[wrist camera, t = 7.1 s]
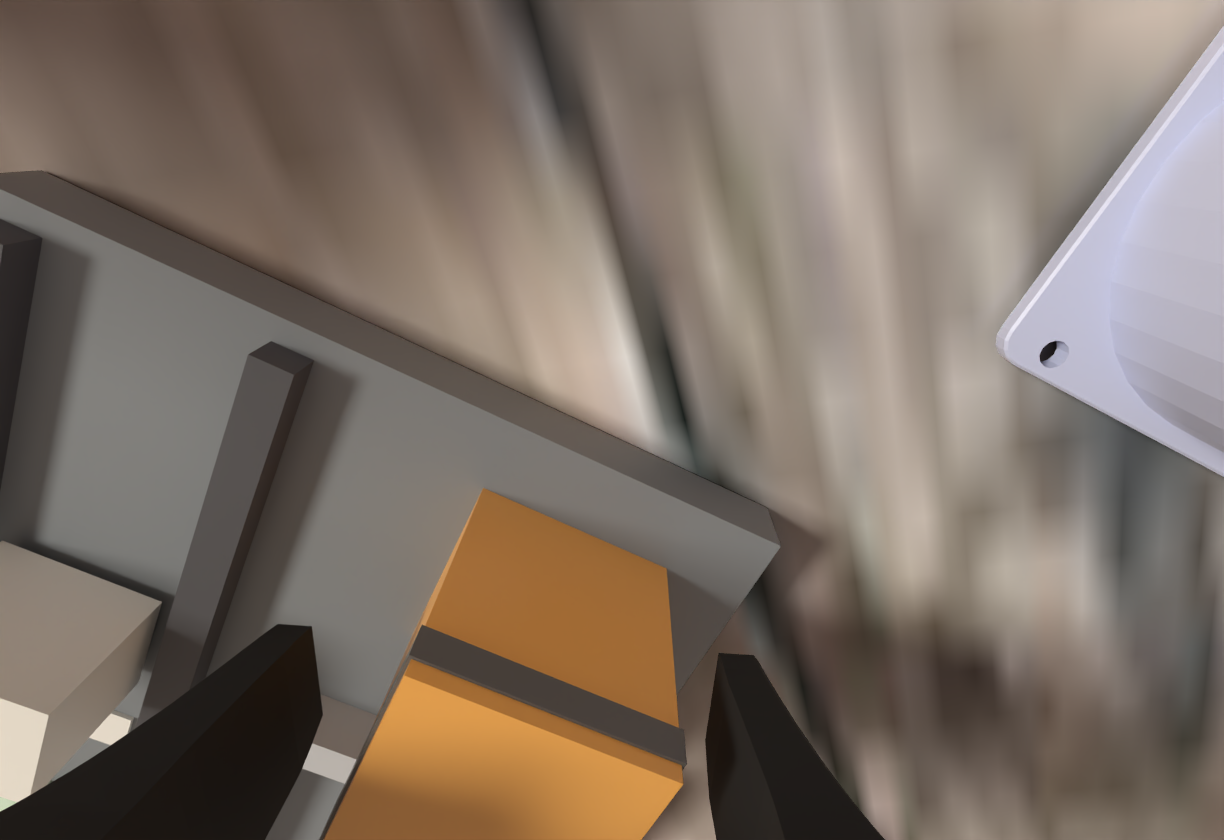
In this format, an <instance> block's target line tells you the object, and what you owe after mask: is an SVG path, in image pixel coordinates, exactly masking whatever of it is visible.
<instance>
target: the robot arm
mask: <svg viewBox="0 0 1224 840" xmlns="http://www.w3.org/2000/svg"><path fill="white" fill-rule="evenodd" d="M1053 341H1056V342H1057V349H1056V351H1055V353H1054V355H1052V356H1051V357H1050V358H1049V359H1048V360H1044V361H1041V362H1040V357H1039V355H1040V353H1041V351H1042V348H1043V347H1045V346H1046V345H1047V344H1048V343H1050V342H1053ZM996 347H997V350H998V352H999V354H1000V355H1001V356H1002V357H1003V358H1004V359H1005V360H1007V361H1008V362H1010V363H1012V364H1013V365H1015V366H1017V367H1019V368H1021V369H1023V370H1024V371H1026V372H1028V373H1030V374H1032V375H1034V376H1036V377H1038V378H1039V379H1041V380H1043V381H1045V382H1047V383H1049V384H1051V385H1053V386H1054V387H1056V388H1058V389H1060V390H1062V391H1064V392H1066V393H1068V394H1069V395H1071V396H1073V397H1075V398H1077V399H1079V400H1081V401H1083V402H1084V403H1086V404H1088V405H1090V406H1092V407H1094V408H1096V409H1098V410H1099V411H1101V412H1103V413H1105V414H1107V415H1109V416H1111V417H1113V418H1114V419H1116V420H1118V421H1120V422H1122V423H1124V424H1126V425H1128V426H1129V427H1131V428H1133V429H1135V430H1137V431H1139V432H1141V433H1143V434H1144V435H1146V436H1148V437H1150V438H1152V439H1154V440H1156V441H1158V442H1159V443H1161V444H1163V445H1165V446H1167V447H1169V448H1171V449H1173V450H1174V451H1176V452H1178V453H1180V454H1182V455H1184V456H1186V457H1188V458H1189V459H1191V460H1193V461H1195V462H1197V463H1199V464H1201V465H1203V466H1205V467H1206V468H1208V469H1210V470H1212V471H1214V472H1216V473H1218V474H1220V475H1221V476H1223V477H1224V26H1223V27H1222V29H1221V30H1220V31H1219V33H1218V34H1217V35H1216V37H1215V38H1214V39H1213V41H1212V42H1211V43H1210V45H1209V46H1208V47H1207V49H1206V50H1205V52H1204V53H1203V54H1202V56H1201V57H1200V58H1199V60H1198V61H1197V62H1196V64H1195V65H1194V66H1193V68H1192V69H1191V70H1190V72H1189V73H1188V75H1187V76H1186V77H1185V79H1184V80H1183V81H1182V83H1181V84H1180V85H1179V87H1178V88H1177V89H1176V91H1175V92H1174V93H1173V95H1172V96H1171V98H1170V99H1169V100H1168V102H1167V103H1166V104H1165V106H1164V107H1163V108H1162V110H1161V111H1160V112H1159V114H1158V115H1157V116H1156V118H1155V119H1154V121H1153V122H1152V123H1151V125H1150V126H1149V127H1148V129H1147V130H1146V131H1145V133H1144V134H1143V135H1142V137H1141V138H1140V139H1139V141H1138V142H1137V144H1136V145H1135V146H1134V148H1133V149H1132V150H1131V152H1130V153H1129V154H1128V156H1127V157H1126V158H1125V160H1124V161H1123V162H1122V164H1121V165H1120V167H1119V168H1118V169H1117V171H1116V172H1115V173H1114V175H1113V176H1112V177H1111V179H1110V180H1109V181H1108V183H1107V184H1106V185H1105V187H1104V188H1103V189H1102V191H1101V192H1100V194H1099V195H1098V196H1097V198H1096V199H1095V200H1094V202H1093V203H1092V204H1091V206H1090V207H1089V208H1088V210H1087V211H1086V212H1085V214H1084V215H1083V217H1082V218H1081V219H1080V221H1079V222H1078V223H1077V225H1076V226H1075V227H1074V229H1073V230H1072V231H1071V233H1070V234H1069V235H1068V237H1067V238H1066V240H1065V241H1064V242H1063V244H1062V245H1061V246H1060V248H1059V249H1058V250H1057V252H1056V253H1055V254H1054V256H1053V257H1052V258H1051V260H1050V261H1049V263H1048V264H1047V265H1046V267H1045V268H1044V269H1043V271H1042V272H1041V273H1040V275H1039V276H1038V277H1037V279H1036V280H1035V281H1034V283H1033V284H1032V286H1031V287H1030V288H1029V290H1028V291H1027V292H1026V294H1025V295H1024V296H1023V298H1022V299H1021V300H1020V302H1019V303H1018V304H1017V306H1016V307H1015V309H1014V310H1013V311H1012V313H1011V314H1010V315H1009V317H1008V318H1007V319H1006V321H1005V322H1004V323H1003V325H1002V326H1001V328H1000V330H999V332H998V334H997V338H996ZM322 716H323V710H322V702H321V694H320V686H319V679H318V671H317V663H316V655H315V647H314V639H313V631H312V626H301V625H286V624H277V625H275V626H274V627H273V628H271V629H270V630H268V631H267V632H266V633H264V634H263V635H262V636H260V637H259V638H258V639H256V640H255V641H254V642H252V643H251V644H250V645H248V646H247V647H246V648H245V649H243V650H242V651H241V652H239V653H238V654H237V655H235V656H234V657H233V658H231V659H230V660H229V661H228V662H226V663H225V664H224V665H222V666H221V667H220V668H218V669H217V670H216V671H214V672H213V673H212V674H210V675H209V676H208V677H206V678H205V679H204V680H202V681H201V682H200V683H198V684H197V685H196V686H194V687H193V688H192V689H190V690H189V691H187V692H186V693H185V694H183V695H182V696H181V697H179V698H178V699H177V700H175V701H174V702H173V703H171V704H170V705H169V706H167V707H166V708H164V709H163V710H161V711H160V712H158V713H157V714H155V715H154V716H153V717H151V718H150V719H148V720H147V721H145V722H144V723H142V724H141V725H139V726H138V727H137V728H135V729H134V730H132V731H131V732H129V733H128V734H126V735H125V736H123V737H122V738H121V739H119V740H118V741H116V742H115V743H113V744H112V745H110V746H109V747H107V748H106V749H104V750H103V751H101V752H100V753H98V754H97V755H95V756H94V757H92V758H91V759H89V760H87V761H86V762H84V763H83V764H81V765H79V766H78V767H76V768H75V769H73V770H71V771H70V772H68V773H66V774H65V775H63V776H61V777H60V778H58V779H56V780H55V781H53V782H51V783H50V784H48V785H46V786H45V787H43V788H41V789H39V790H38V791H36V792H34V793H33V794H31V795H29V796H28V797H26V798H24V799H22V800H21V801H19V802H17V803H15V804H13V805H12V806H10V807H8V808H6V809H4V810H2V811H0V840H265V839H266V837H267V835H268V833H269V831H270V830H271V828H272V826H273V824H274V822H275V820H276V818H277V817H278V815H279V813H280V811H281V809H282V807H283V805H284V803H285V801H286V799H287V798H288V796H289V794H290V792H291V790H292V788H293V786H294V784H295V782H296V780H297V778H298V776H299V775H300V773H301V770H302V768H303V765H304V763H305V760H306V758H307V755H308V753H309V751H310V748H311V746H312V743H313V740H314V738H315V735H316V732H317V730H318V727H319V724H320V722H321V719H322ZM705 742H706V757H707V773H708V786H709V799H710V805H711V811H712V817H713V822H714V828H715V834H716V839H717V840H885V839H884V838H883V837H882V836H881V835H880V834H879V832H878V831H877V830H876V829H875V828H874V827H873V825H872V824H871V823H870V822H869V821H868V819H867V818H866V817H865V816H864V815H863V813H862V812H861V811H860V810H859V808H858V807H857V806H856V805H855V804H854V802H853V801H852V800H851V798H850V797H849V796H848V795H847V793H846V792H845V791H844V789H843V788H842V787H841V785H840V784H839V783H838V782H837V780H836V779H835V778H834V776H833V775H832V774H831V772H830V771H829V770H828V768H827V767H826V765H825V764H824V763H823V761H822V760H821V759H820V757H819V756H818V754H817V753H816V751H815V750H814V748H813V747H812V746H811V744H810V743H809V741H808V740H807V738H806V737H805V736H804V734H803V733H802V731H801V730H800V728H799V727H798V725H797V724H796V722H795V721H794V719H793V718H792V716H791V715H790V713H789V711H788V710H787V708H786V707H785V705H784V704H783V702H782V700H781V699H780V697H779V696H778V694H777V692H776V691H775V689H774V687H773V686H772V684H771V682H770V681H769V679H768V677H767V676H766V674H765V672H764V670H763V669H762V667H761V665H760V663H759V662H758V660H757V659H756V658H755V657H754V656H753V655H739V654H724V653H719V655H718V661H717V668H716V674H715V681H714V687H713V694H712V700H711V707H710V713H709V720H708V726H707V733H706V739H705Z"/></svg>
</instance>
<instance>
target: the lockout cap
mask: <svg viewBox="0 0 1224 840" xmlns="http://www.w3.org/2000/svg"><path fill="white" fill-rule="evenodd" d="M686 765H687V761H686V750H685V738H684V730H683V729H680V728H679V722H678V709H677V696H676V683H675V670H674V657H673V644H672V631H671V619H670V606H669V593H668V580H667V568H664V567H662V566H660V565H657V564H655V563H653V562H651V561H648V560H646V559H644V558H642V557H639V556H637V555H635V554H632V553H630V552H628V551H626V550H623V549H621V548H619V547H617V546H614V545H612V544H610V543H607V542H605V541H603V540H601V539H598V538H596V537H594V536H591V535H589V534H587V533H585V532H582V531H580V530H578V529H576V528H573V527H571V526H569V525H566V524H564V523H562V522H560V521H557V520H555V519H553V518H551V517H548V516H546V515H544V514H541V513H539V512H537V511H535V510H532V509H530V508H528V507H526V506H523V505H521V504H519V503H516V502H514V501H512V500H510V499H507V498H505V497H503V496H500V495H498V494H496V493H494V492H491V491H489V490H487V489H485V488H483V489H482V491H481V493H480V495H479V498H478V500H477V502H476V504H475V506H474V508H473V510H472V512H471V514H470V516H469V518H468V520H467V522H466V525H465V527H464V529H463V531H462V533H461V535H460V537H459V539H458V541H457V543H456V545H455V547H454V550H453V552H452V554H451V556H450V558H449V560H448V562H447V564H446V566H445V568H444V570H443V572H442V575H441V577H440V579H439V581H438V583H437V585H436V587H435V589H434V591H433V593H432V595H431V597H430V599H429V602H428V604H427V606H426V608H425V610H424V612H423V614H422V616H421V618H420V620H419V622H418V624H417V627H416V629H415V631H414V633H413V635H412V637H411V639H410V642H409V644H408V646H407V649H406V651H405V653H404V655H403V658H402V660H401V662H400V664H399V667H398V669H397V671H396V674H395V676H394V678H393V680H392V683H391V685H390V687H389V690H388V692H387V694H386V696H385V699H384V701H383V703H382V706H381V708H380V710H379V712H378V715H377V717H376V719H375V722H374V724H373V726H372V728H371V731H370V733H369V735H368V737H367V739H366V741H365V743H364V745H363V747H362V749H361V752H360V754H359V756H358V758H357V760H356V762H355V764H354V766H353V768H352V770H351V772H350V774H349V776H348V778H347V780H346V783H345V785H344V787H343V789H342V791H341V793H340V795H339V797H338V799H337V801H336V803H335V805H334V807H333V809H332V812H331V814H330V816H329V818H328V821H327V823H326V825H325V827H324V830H323V832H322V834H321V836H320V839H319V840H641V839H642V838H643V837H644V836H645V834H646V833H647V832H648V830H649V829H650V828H651V826H652V825H653V824H654V822H655V821H656V820H657V818H658V817H659V816H660V814H661V813H662V812H663V810H664V809H665V808H666V806H667V805H668V804H669V802H670V801H671V800H672V798H673V797H674V796H675V794H676V793H677V792H678V791H679V789H680V788H681V787H682V785H683V774H682V770H683V769H684V767H685V766H686Z"/></svg>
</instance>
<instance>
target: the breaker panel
mask: <svg viewBox="0 0 1224 840" xmlns="http://www.w3.org/2000/svg"><path fill="white" fill-rule="evenodd" d="M483 488H485V489H487V490H489V491H491V492H494V493H496V494H498V495H500V496H503V497H505V498H507V499H510V500H512V501H514V502H516V503H519V504H521V505H523V506H526V507H528V508H530V509H532V510H535V511H537V512H539V513H541V514H544V515H546V516H548V517H551V518H553V519H555V520H557V521H560V522H562V523H564V524H566V525H569V526H571V527H573V528H576V529H578V530H580V531H582V532H585V533H587V534H589V535H591V536H594V537H596V538H598V539H601V540H603V541H605V542H607V543H610V544H612V545H614V546H617V547H619V548H621V549H623V550H626V551H628V552H630V553H632V554H635V555H637V556H639V557H642V558H644V559H646V560H648V561H651V562H653V563H655V564H657V565H660V566H662V567H664V568H667V580H668V593H669V606H670V619H671V631H672V644H673V657H674V670H675V683H676V695H677V694H678V693H679V691H680V690H681V688H682V687H683V685H684V684H685V683H686V681H687V680H688V678H689V677H690V675H691V674H692V673H693V671H694V670H695V668H696V667H697V665H698V664H699V663H700V661H701V660H702V658H703V657H704V655H705V654H706V653H707V651H708V650H709V648H710V647H711V645H712V644H713V643H714V641H715V640H716V638H717V637H718V635H719V634H720V633H721V631H722V630H723V628H724V627H725V625H726V624H727V623H728V621H729V620H730V618H731V617H732V615H733V614H734V613H735V611H736V610H737V608H738V607H739V605H740V604H741V603H742V601H743V600H744V598H745V597H746V595H747V594H748V593H749V591H750V590H751V588H752V587H753V585H754V584H755V583H756V581H757V580H758V578H759V577H760V575H761V574H762V573H763V571H764V570H765V568H766V567H767V565H768V564H769V563H770V561H771V560H772V558H773V557H774V555H775V554H776V553H777V551H778V550H779V548H780V547H781V545H780V542H779V539H778V536H777V534H776V531H775V528H774V525H773V522H772V520H771V517H770V514H769V511H768V508H766V507H764V506H762V505H760V504H757V503H755V502H753V501H751V500H749V499H747V498H745V497H742V496H740V495H738V494H736V493H734V492H732V491H730V490H727V489H725V488H723V487H721V486H719V485H717V484H714V483H712V482H710V481H708V480H706V479H704V478H702V477H699V476H697V475H695V474H693V473H691V472H689V471H687V470H684V469H682V468H680V467H678V466H676V465H674V464H671V463H669V462H667V461H665V460H663V459H661V458H659V457H656V456H654V455H652V454H650V453H648V452H646V451H644V450H641V449H639V448H637V447H635V446H633V445H631V444H629V443H626V442H624V441H622V440H620V439H618V438H616V437H613V436H611V435H609V434H607V433H605V432H603V431H601V430H598V429H596V428H594V427H592V426H590V425H588V424H586V423H583V422H581V421H579V420H577V419H575V418H573V417H570V416H568V415H566V414H564V413H562V412H560V411H558V410H555V409H553V408H551V407H549V406H547V405H545V404H543V403H540V402H538V401H536V400H534V399H532V398H530V397H528V396H525V395H523V394H521V393H519V392H517V391H515V390H512V389H510V388H508V387H506V386H504V385H502V384H500V383H497V382H495V381H493V380H491V379H489V378H487V377H485V376H482V375H480V374H478V373H476V372H474V371H472V370H469V369H467V368H465V367H463V366H461V365H459V364H457V363H454V362H452V361H450V360H448V359H446V358H444V357H442V356H439V355H437V354H435V353H433V352H431V351H429V350H426V349H424V348H422V347H420V346H418V345H416V344H414V343H411V342H409V341H407V340H405V339H403V338H401V337H399V336H396V335H394V334H392V333H390V332H388V331H386V330H384V329H381V328H379V327H377V326H375V325H373V324H371V323H368V322H366V321H364V320H362V319H360V318H358V317H356V316H353V315H351V314H349V313H347V312H345V311H343V310H341V309H338V308H336V307H334V306H332V305H330V304H328V303H325V302H323V301H321V300H319V299H317V298H315V297H313V296H310V295H308V294H306V293H304V292H302V291H300V290H298V289H295V288H293V287H291V286H289V285H287V284H285V283H283V282H280V281H278V280H276V279H274V278H272V277H270V276H267V275H265V274H263V273H261V272H259V271H257V270H255V269H252V268H250V267H248V266H246V265H244V264H242V263H240V262H237V261H235V260H233V259H231V258H229V257H227V256H224V255H222V254H220V253H218V252H216V251H214V250H212V249H209V248H207V247H205V246H203V245H201V244H199V243H197V242H194V241H192V240H190V239H188V238H186V237H184V236H182V235H179V234H177V233H175V232H173V231H171V230H169V229H166V228H164V227H162V226H160V225H158V224H156V223H154V222H151V221H149V220H147V219H145V218H143V217H141V216H139V215H136V214H134V213H132V212H130V211H128V210H126V209H123V208H121V207H119V206H117V205H115V204H113V203H111V202H108V201H106V200H104V199H102V198H100V197H98V196H96V195H93V194H91V193H89V192H87V191H85V190H83V189H81V188H78V187H76V186H74V185H72V184H70V183H68V182H65V181H63V180H61V179H59V178H57V177H55V176H53V175H50V174H48V173H46V172H44V171H42V170H41V171H25V172H10V173H0V542H1V541H5V542H8V543H10V544H13V545H15V546H18V547H21V548H23V549H26V550H28V551H31V552H34V553H36V554H39V555H41V556H44V557H47V558H49V559H52V560H54V561H57V562H60V563H62V564H65V565H67V566H70V567H73V568H75V569H78V570H80V571H83V572H86V573H88V574H91V575H93V576H96V577H99V578H101V579H104V580H106V581H109V582H112V583H114V584H117V585H119V586H122V587H125V588H127V589H130V590H132V591H135V592H138V593H140V594H143V595H145V596H148V597H151V598H153V599H156V600H158V601H161V602H162V604H161V608H160V611H159V614H158V618H157V621H156V625H155V628H154V631H153V635H152V638H151V642H150V645H149V648H148V652H147V655H146V659H145V662H144V665H143V669H142V672H141V676H140V679H139V682H138V684H137V685H136V686H135V687H134V688H133V689H132V690H131V691H130V692H129V694H128V695H127V696H126V697H125V698H124V699H123V700H122V701H121V702H120V704H119V705H118V706H117V707H116V708H115V709H114V710H113V711H112V712H111V714H110V715H109V716H108V717H107V718H106V719H105V720H104V721H103V723H102V724H101V725H100V726H99V727H98V728H97V729H96V730H95V731H94V733H93V734H92V735H91V736H90V737H89V738H88V739H87V740H86V741H85V743H84V744H83V745H82V746H81V747H80V748H79V749H78V750H77V751H76V753H75V754H74V755H73V756H72V757H71V758H70V759H69V760H68V762H67V763H66V764H65V765H64V766H63V767H62V768H61V769H60V770H59V772H58V773H57V774H56V775H55V776H54V777H53V778H52V779H51V780H50V782H49V783H48V784H50V783H51V782H53V781H55V780H56V779H58V778H60V777H61V776H63V775H65V774H66V773H68V772H70V771H71V770H73V769H75V768H76V767H78V766H79V765H81V764H83V763H84V762H86V761H87V760H89V759H91V758H92V757H94V756H95V755H97V754H98V753H100V752H101V751H103V750H104V749H106V748H107V747H109V746H110V745H112V744H113V743H115V742H116V741H118V740H119V739H121V738H122V737H123V736H125V735H126V734H128V733H129V732H131V731H132V730H134V729H135V728H137V727H138V726H139V725H141V724H142V723H144V722H145V721H147V720H148V719H150V718H151V717H153V716H154V715H155V714H157V713H158V712H160V711H161V710H163V709H164V708H166V707H167V706H169V705H170V704H171V703H173V702H174V701H175V700H177V699H178V698H179V697H181V696H182V695H183V694H185V693H186V692H187V691H189V690H190V689H192V688H193V687H194V686H196V685H197V684H198V683H200V682H201V681H202V680H204V679H205V678H206V677H208V676H209V675H210V674H212V673H213V672H214V671H216V670H217V669H218V668H220V667H221V666H222V665H224V664H225V663H226V662H228V661H229V660H230V659H231V658H233V657H234V656H235V655H237V654H238V653H239V652H241V651H242V650H243V649H245V648H246V647H247V646H248V645H250V644H251V643H252V642H254V641H255V640H256V639H258V638H259V637H260V636H262V635H263V634H264V633H266V632H267V631H268V630H270V629H271V628H273V627H274V626H275V625H277V624H286V625H301V626H312V631H313V639H314V647H315V655H316V663H317V671H318V679H319V686H320V694H321V702H322V710H323V716H322V719H321V722H320V724H319V727H318V730H317V732H316V735H315V738H314V740H313V743H312V746H311V748H310V751H309V753H308V755H307V758H306V760H305V763H304V765H303V768H302V770H301V773H300V775H299V776H298V778H297V780H296V782H295V784H294V786H293V788H292V790H291V792H290V794H289V796H288V798H287V799H286V801H285V803H284V805H283V807H282V809H281V811H280V813H279V815H278V817H277V818H276V820H275V822H274V824H273V826H272V828H271V830H270V831H269V833H268V835H267V837H266V839H265V840H319V839H320V836H321V834H322V832H323V830H324V827H325V825H326V823H327V821H328V818H329V816H330V814H331V812H332V809H333V807H334V805H335V803H336V801H337V799H338V797H339V795H340V793H341V791H342V789H343V787H344V785H345V783H346V780H347V778H348V776H349V774H350V772H351V770H352V768H353V766H354V764H355V762H356V760H357V758H358V756H359V754H360V752H361V749H362V747H363V745H364V743H365V741H366V739H367V737H368V735H369V733H370V731H371V728H372V726H373V724H374V722H375V719H376V717H377V715H378V712H379V710H380V708H381V706H382V703H383V701H384V699H385V696H386V694H387V692H388V690H389V687H390V685H391V683H392V680H393V678H394V676H395V674H396V671H397V669H398V667H399V664H400V662H401V660H402V658H403V655H404V653H405V651H406V649H407V646H408V644H409V642H410V639H411V637H412V635H413V633H414V631H415V629H416V627H417V624H418V622H419V620H420V618H421V616H422V614H423V612H424V610H425V608H426V606H427V604H428V602H429V599H430V597H431V595H432V593H433V591H434V589H435V587H436V585H437V583H438V581H439V579H440V577H441V575H442V572H443V570H444V568H445V566H446V564H447V562H448V560H449V558H450V556H451V554H452V552H453V550H454V547H455V545H456V543H457V541H458V539H459V537H460V535H461V533H462V531H463V529H464V527H465V525H466V522H467V520H468V518H469V516H470V514H471V512H472V510H473V508H474V506H475V504H476V502H477V500H478V498H479V495H480V493H481V491H482V489H483ZM48 784H47V785H48ZM15 803H17V802H14V801H11V800H8V799H5V798H2V797H0V811H2V810H4V809H6V808H8V807H10V806H12V805H13V804H15Z"/></svg>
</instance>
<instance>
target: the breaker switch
mask: <svg viewBox="0 0 1224 840" xmlns="http://www.w3.org/2000/svg"><path fill="white" fill-rule="evenodd" d="M161 604H162V602H161V601H158V600H156V599H153V598H151V597H148V596H145V595H143V594H140V593H138V592H135V591H132V590H130V589H127V588H125V587H122V586H119V585H117V584H114V583H112V582H109V581H106V580H104V579H101V578H99V577H96V576H93V575H91V574H88V573H86V572H83V571H80V570H78V569H75V568H73V567H70V566H67V565H65V564H62V563H60V562H57V561H54V560H52V559H49V558H47V557H44V556H41V555H39V554H36V553H34V552H31V551H28V550H26V549H23V548H21V547H18V546H15V545H13V544H10V543H8V542H5V541H1V542H0V797H2V798H5V799H8V800H11V801H14V802H19V801H21V800H22V799H24V798H26V797H28V796H29V795H31V794H33V793H34V792H36V791H38V790H39V789H41V788H43V787H45V786H46V785H47V784H48V783H49V782H50V780H51V779H52V778H53V777H54V776H55V775H56V774H57V773H58V772H59V770H60V769H61V768H62V767H63V766H64V765H65V764H66V763H67V762H68V760H69V759H70V758H71V757H72V756H73V755H74V754H75V753H76V751H77V750H78V749H79V748H80V747H81V746H82V745H83V744H84V743H85V741H86V740H87V739H88V738H89V737H90V736H91V735H92V734H93V733H94V731H95V730H96V729H97V728H98V727H99V726H100V725H101V724H102V723H103V721H104V720H105V719H106V718H107V717H108V716H109V715H110V714H111V712H112V711H113V710H114V709H115V708H116V707H117V706H118V705H119V704H120V702H121V701H122V700H123V699H124V698H125V697H126V696H127V695H128V694H129V692H130V691H131V690H132V689H133V688H134V687H135V686H136V685H137V684H138V682H139V679H140V676H141V672H142V669H143V665H144V662H145V659H146V655H147V652H148V648H149V645H150V642H151V638H152V635H153V631H154V628H155V625H156V621H157V618H158V614H159V611H160V608H161Z"/></svg>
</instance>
